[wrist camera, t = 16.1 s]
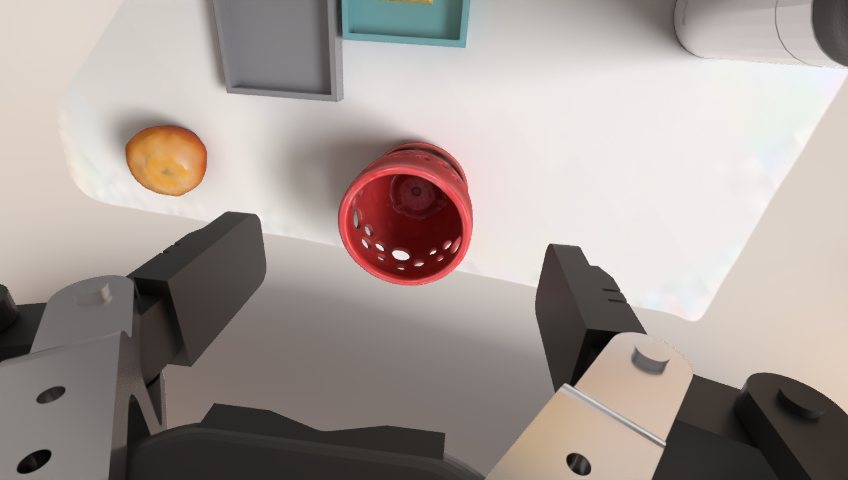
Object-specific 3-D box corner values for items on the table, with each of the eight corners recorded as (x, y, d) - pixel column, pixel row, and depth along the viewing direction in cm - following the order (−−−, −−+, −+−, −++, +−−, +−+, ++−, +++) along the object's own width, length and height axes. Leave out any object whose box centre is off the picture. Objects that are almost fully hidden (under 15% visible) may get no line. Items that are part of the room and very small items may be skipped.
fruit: (132, 104, 46) (122, 130, 40) (210, 121, 50) (210, 147, 44) (130, 167, 49) (120, 199, 44) (202, 178, 54) (202, 208, 48)
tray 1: (339, -33, 39) (332, -37, 37) (343, 98, 44) (337, 101, 42) (219, -39, 40) (205, -44, 38) (238, 90, 45) (227, 93, 43)
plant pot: (372, 124, 45) (342, 149, 35) (484, 149, 45) (489, 182, 35) (358, 225, 51) (330, 273, 41) (457, 247, 51) (455, 301, 41)
